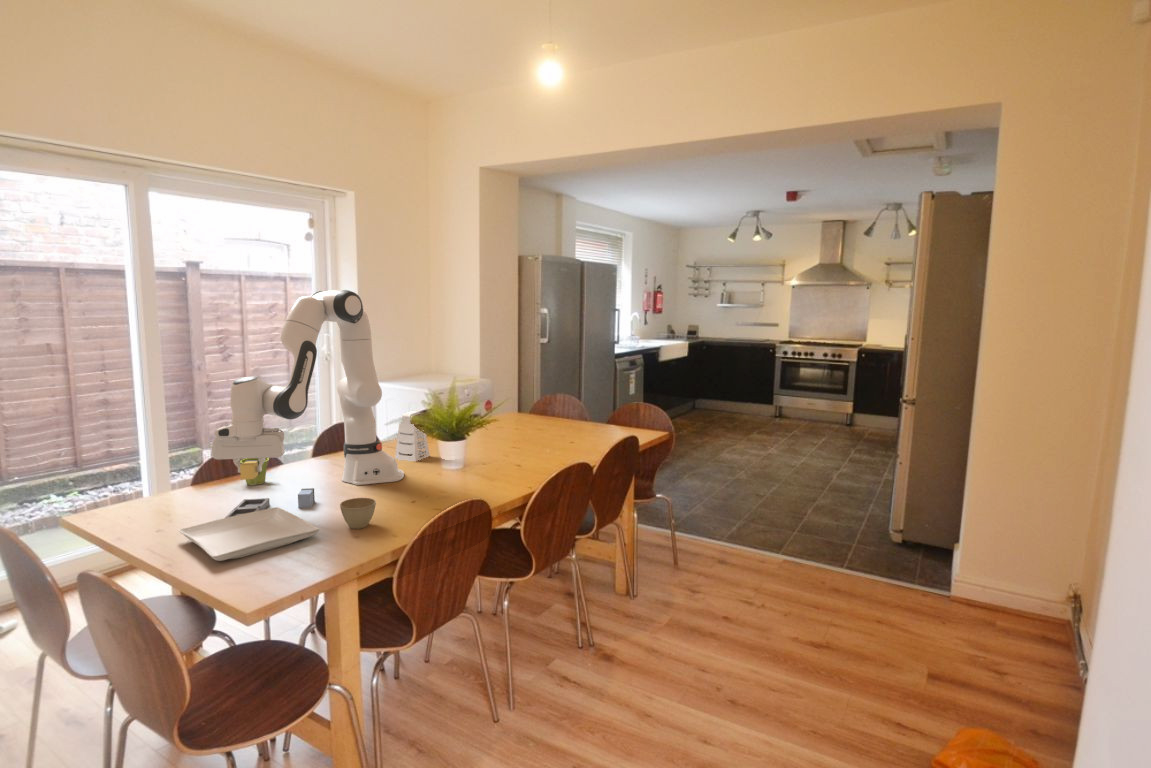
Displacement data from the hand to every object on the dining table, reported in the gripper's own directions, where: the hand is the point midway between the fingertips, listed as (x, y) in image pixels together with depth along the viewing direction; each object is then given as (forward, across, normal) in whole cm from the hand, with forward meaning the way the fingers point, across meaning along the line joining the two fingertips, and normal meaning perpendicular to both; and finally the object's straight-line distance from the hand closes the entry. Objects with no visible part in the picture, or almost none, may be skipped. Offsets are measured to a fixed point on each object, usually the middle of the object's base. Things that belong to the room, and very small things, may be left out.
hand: (250, 471), depth 190 cm
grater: (+12, -46, -61) cm, 77 cm away
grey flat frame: (+12, 0, +4) cm, 13 cm away
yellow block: (+2, 0, 0) cm, 2 cm away
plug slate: (+12, -16, -3) cm, 20 cm away
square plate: (+13, -7, +27) cm, 31 cm away
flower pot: (+12, -35, +20) cm, 43 cm away
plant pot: (+13, +8, -32) cm, 35 cm away
